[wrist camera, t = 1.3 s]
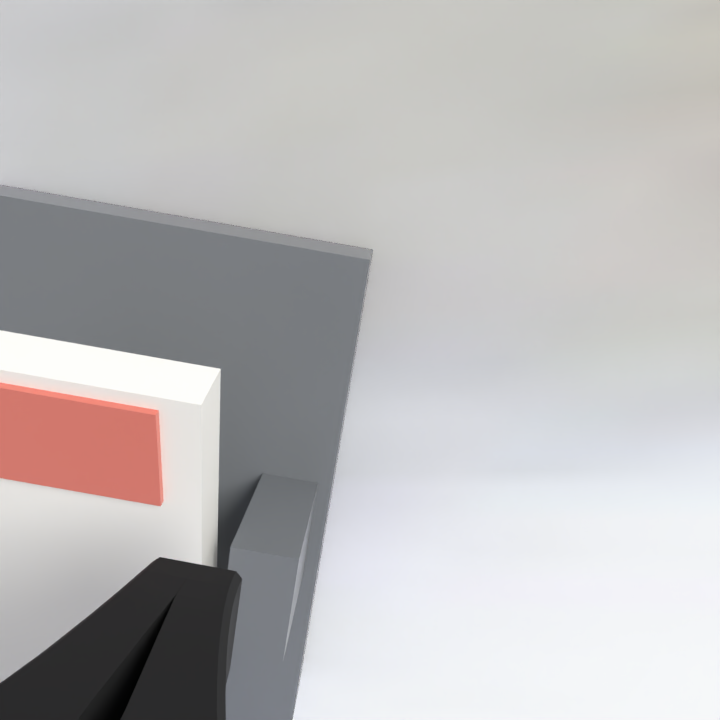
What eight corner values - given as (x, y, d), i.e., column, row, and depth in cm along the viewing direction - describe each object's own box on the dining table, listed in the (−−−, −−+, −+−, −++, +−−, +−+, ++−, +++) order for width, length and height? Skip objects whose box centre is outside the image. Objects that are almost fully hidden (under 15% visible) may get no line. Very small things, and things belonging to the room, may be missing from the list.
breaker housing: (299, 684, 22) (268, 846, 17) (3, 631, 22) (-120, 776, 17) (373, 249, 17) (362, 285, 12) (-9, 183, 17) (-189, 189, 12)
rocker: (215, 687, 18) (200, 734, 17) (23, 653, 18) (-3, 697, 17) (220, 369, 12) (198, 410, 11) (-76, 316, 12) (-129, 352, 11)
